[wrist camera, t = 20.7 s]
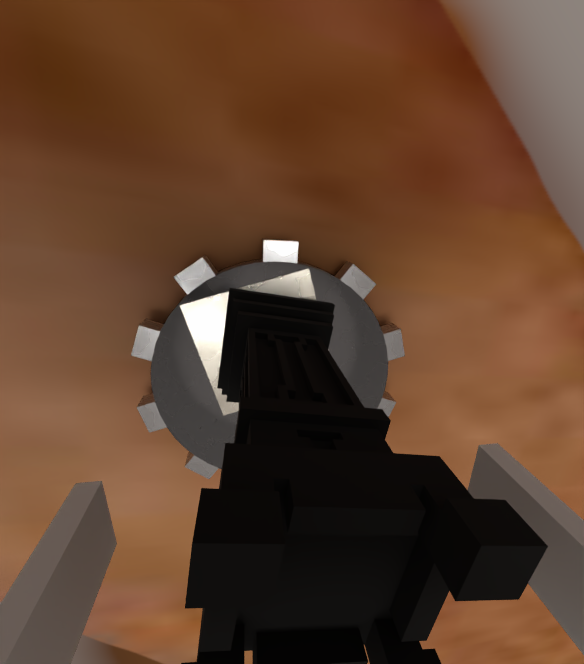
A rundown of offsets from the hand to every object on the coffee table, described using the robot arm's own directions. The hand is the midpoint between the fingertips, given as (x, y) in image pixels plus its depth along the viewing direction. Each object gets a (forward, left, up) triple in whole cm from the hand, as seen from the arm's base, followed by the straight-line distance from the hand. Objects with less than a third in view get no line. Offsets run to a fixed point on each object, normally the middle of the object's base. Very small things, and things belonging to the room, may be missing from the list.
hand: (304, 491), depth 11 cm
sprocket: (+3, -3, -18) cm, 18 cm away
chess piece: (0, 0, -16) cm, 16 cm away
